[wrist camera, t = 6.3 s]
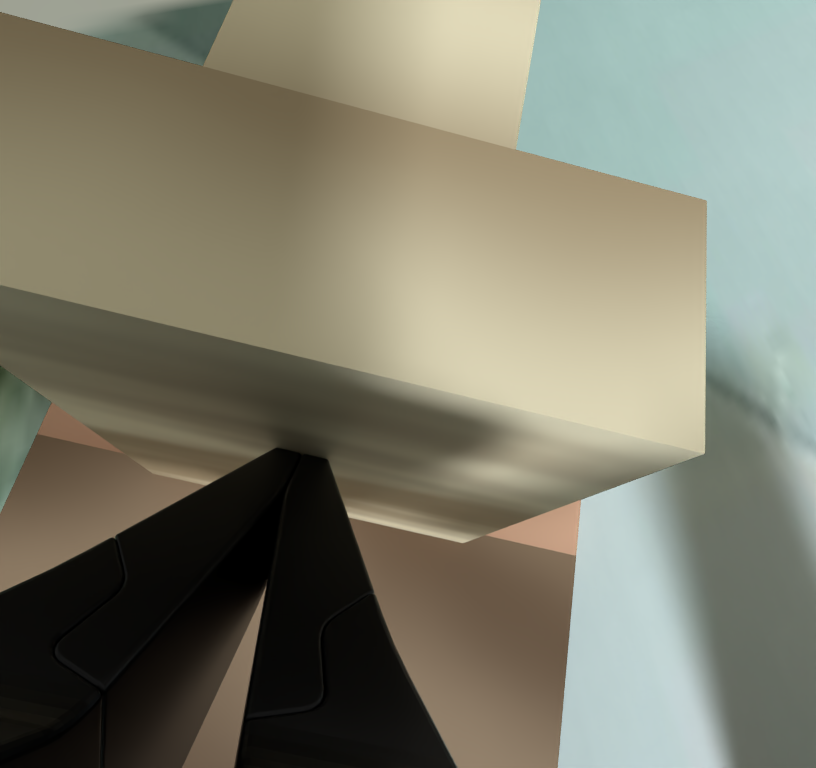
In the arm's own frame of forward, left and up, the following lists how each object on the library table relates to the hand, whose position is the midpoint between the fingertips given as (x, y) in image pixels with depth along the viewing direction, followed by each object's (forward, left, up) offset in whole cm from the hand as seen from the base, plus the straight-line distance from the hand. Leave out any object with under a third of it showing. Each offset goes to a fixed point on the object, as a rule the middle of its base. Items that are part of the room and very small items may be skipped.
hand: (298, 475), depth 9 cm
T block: (+5, +1, -6) cm, 8 cm away
